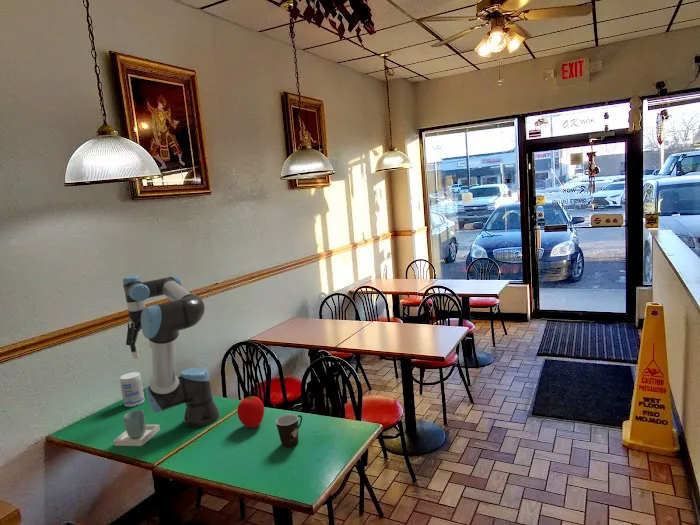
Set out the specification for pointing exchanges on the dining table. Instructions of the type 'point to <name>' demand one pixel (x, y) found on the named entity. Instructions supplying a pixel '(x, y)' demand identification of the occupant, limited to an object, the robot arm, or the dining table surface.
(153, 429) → the dish
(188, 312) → the robot arm
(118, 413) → the dining table surface
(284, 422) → the coffee mug
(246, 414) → the tomato
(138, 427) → the cup
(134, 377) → the supplement tub
